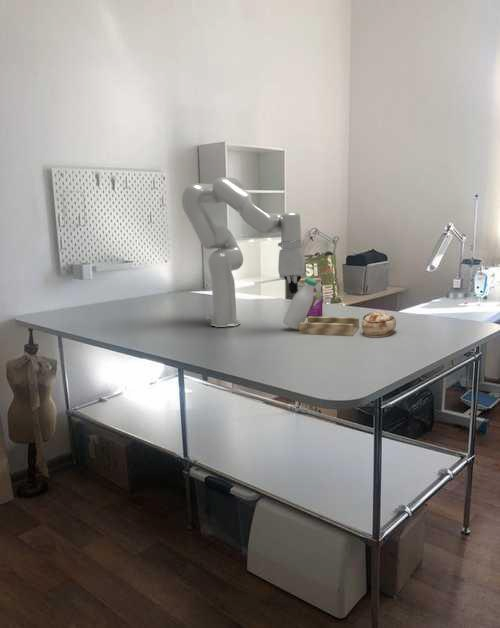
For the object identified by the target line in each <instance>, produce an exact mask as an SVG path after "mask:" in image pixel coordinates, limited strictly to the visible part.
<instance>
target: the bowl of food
mask: <svg viewBox="0 0 500 628" xmlns="http://www.w3.org/2000/svg"><path fill="white" fill-rule="evenodd" d="M396 327H397V319H396V317H395V316H394V315H393V314H391V313H390V312H387V311H382V310H379V311H373V312H369V313H367V314H365V315H364V316H363V318H362V321H361V329H362V332H363V334H364V335H365V337H369V338H385V337H387V336H390V335H392V334H393V333H394V330H395V329H396Z"/></svg>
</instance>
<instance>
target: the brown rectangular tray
mask: <svg viewBox="0 0 500 628" xmlns="http://www.w3.org/2000/svg"><path fill="white" fill-rule="evenodd" d="M299 328H300V330H299V334H300V335H320V336H321V335H322V336H326V335H327V336H347V337H348V336H349V337H350V336H351V337H353V336H354V335H355V334H356V332H357V331H358V330H359V329H360V317H351V316H350V317H343V316H342V317H341V316H307V322H305V321H304V322H301V323H299Z"/></svg>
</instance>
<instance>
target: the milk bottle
mask: <svg viewBox="0 0 500 628" xmlns="http://www.w3.org/2000/svg"><path fill="white" fill-rule="evenodd" d="M304 279H305V282H304V285H303V286H302V287H301V288H300V289H299V290H298V291H297V292H296V293H295V294H294V295H293V298H291V299H292V300H291V301H290V304H289V307H288V308H287V311H286V314H285V316H284V318H283V320H282V321H283V324H284V325H285V326H287V327H289V328H290V329H294V330H298V331H300V328H299V323H301V322H304V323H305V321H306V318H308V316H307V314H308V312H309V310H310V307H311V305H312V302H313V289H314V287H315V286H316V284H317V282H316V281H315V280H314V279H313V278H311V277H305V278H304Z"/></svg>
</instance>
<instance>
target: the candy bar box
mask: <svg viewBox="0 0 500 628" xmlns="http://www.w3.org/2000/svg"><path fill="white" fill-rule="evenodd" d="M305 279H306V278H302V279H300V280H299V281H298V290H299V289H300V288H301V287H302V286H303V285H304V282H305ZM312 279H314V280H315V281H316V282H317V284H316V286H315V287H314V289H313V302H312V305H311V307H310V310H309V312H308V314H307V317H309V316H312V317H323V279H322V278H312Z"/></svg>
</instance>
